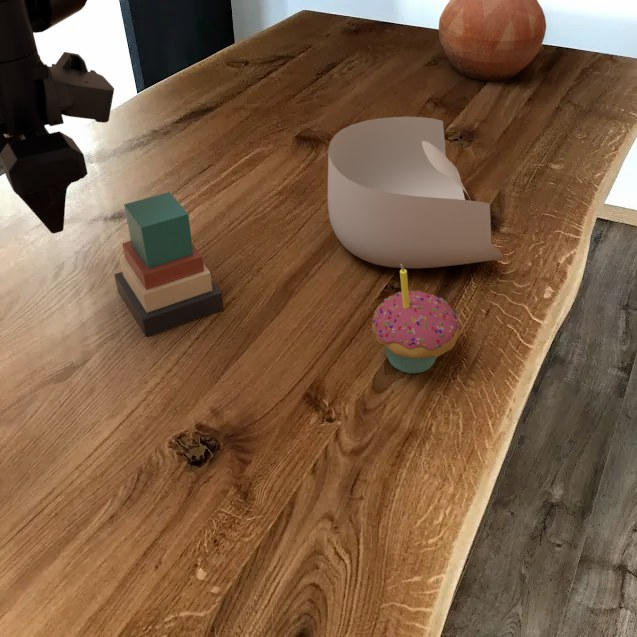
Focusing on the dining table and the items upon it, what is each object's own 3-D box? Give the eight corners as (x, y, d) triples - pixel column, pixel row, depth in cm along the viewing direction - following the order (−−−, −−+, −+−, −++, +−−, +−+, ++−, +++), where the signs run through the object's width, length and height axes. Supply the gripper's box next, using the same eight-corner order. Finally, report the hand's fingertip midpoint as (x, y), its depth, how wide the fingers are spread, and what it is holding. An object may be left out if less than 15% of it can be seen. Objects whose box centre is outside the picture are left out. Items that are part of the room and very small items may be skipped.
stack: (146, 337, 77) (135, 285, 73) (117, 291, 83) (106, 240, 78) (223, 310, 81) (218, 258, 76) (191, 267, 87) (184, 217, 82)
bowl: (317, 200, 98) (318, 118, 91) (456, 192, 100) (469, 111, 92) (339, 292, 83) (342, 203, 76) (502, 281, 85) (521, 192, 77)
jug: (423, 79, 129) (436, -42, 116) (446, 45, 142) (460, -69, 129) (528, 96, 125) (554, -30, 112) (542, 58, 137) (567, -58, 124)
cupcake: (379, 390, 72) (388, 295, 64) (362, 333, 78) (368, 240, 70) (463, 381, 73) (482, 286, 65) (439, 325, 79) (454, 233, 71)
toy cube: (148, 268, 75) (141, 227, 71) (131, 244, 78) (123, 204, 75) (193, 254, 77) (188, 213, 73) (175, 231, 80) (169, 191, 77)
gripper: (130, 70, 59) (156, 232, 69) (65, 5, 71) (95, 151, 81) (-13, 98, 55) (37, 267, 65) (-57, 24, 67) (-9, 175, 77)
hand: (44, 209), depth 72 cm, fingers open, 9 cm apart
